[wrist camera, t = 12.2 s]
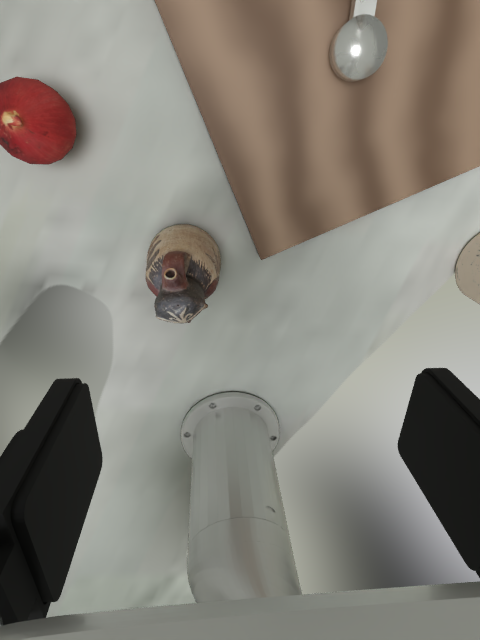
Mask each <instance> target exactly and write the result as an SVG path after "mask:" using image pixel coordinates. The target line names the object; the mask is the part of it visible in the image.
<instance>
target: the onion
mask: <svg viewBox="0 0 480 640" xmlns="http://www.w3.org/2000/svg"><path fill="white" fill-rule="evenodd" d="M75 138H76V123H75V118H74V116H73V114H72V111H71V109H70V107H69V105H68V104H67V102H66V101H65V100H64V99H63V98H62V97H61V96H60V95H59V94H58V92H56V91H55V90H54V89H52V88H51V87H49V86H47V85H46V84H44V83H42V82H41V81H39V80H36V79H29V78H22V77H15V78H12V79H9V80H7V81H4V82H2V83H0V145H1V146H2V147H3V148H4V149H5V150H6V151H7V152H8V153H10V154H11V155H12V156H13V157H16V158H18V159H20V160H22V161H25V162H27V163H29V164H51V163H53V162H56V161H58V160H61V159H62V158H63V157H64V156H65V155H66V154H67V153H68V152H69V151H70V150H71V149H72V148H73V144H74V141H75Z"/></svg>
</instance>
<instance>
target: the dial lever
mask: <svg viewBox="0 0 480 640" xmlns="http://www.w3.org/2000/svg"><path fill="white" fill-rule="evenodd" d="M376 4H377V0H352V2H351V9H350V16H349V21H348V22H347V23H346V24H344V25H343V26H342V27H341V28H340V29H339V30H338V31H337V33H336V34H335V36H334V38H333V40H332V42H331V46H330V52H329V58H330V64H331V67H332V69H333V71H334V73H335V74H336V75H337V76H338V77H339V78H340V79H342V80H344V81H347V82H355V81H358V80H361V79H364V78H366V77H369V76H370V75H372V74H373V73H375V72H376V71H377V70H378V68H379V67H380V66H381V64H382V63H383V61H384V58H385V56H386V52H387V47H388V37H387V32H386V29H385V27H384V25H383V24H382V22H381V21H380V20H379V19H378V18H376V17H374V16H375V10H376Z"/></svg>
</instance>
